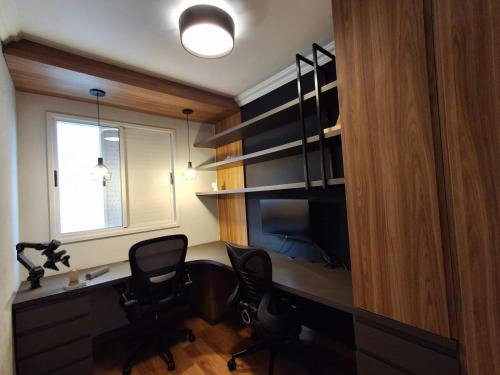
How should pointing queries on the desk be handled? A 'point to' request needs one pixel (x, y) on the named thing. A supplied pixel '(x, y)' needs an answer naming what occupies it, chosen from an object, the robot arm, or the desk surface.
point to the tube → (96, 272)
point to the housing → (73, 285)
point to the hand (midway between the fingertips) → (64, 268)
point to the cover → (73, 276)
